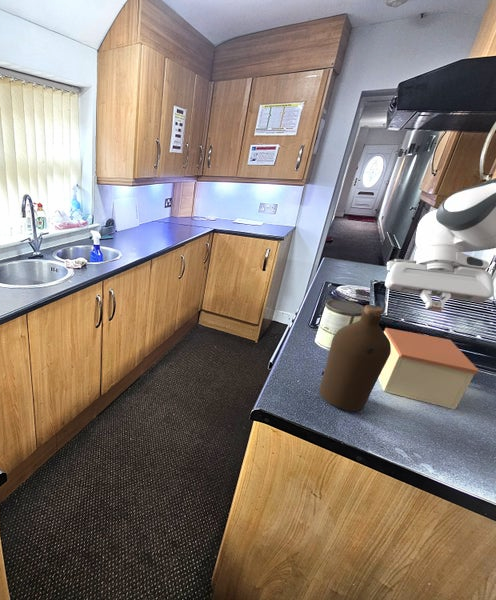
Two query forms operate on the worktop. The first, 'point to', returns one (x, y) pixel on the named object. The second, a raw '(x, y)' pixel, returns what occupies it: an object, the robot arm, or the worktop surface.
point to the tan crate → (423, 380)
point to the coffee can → (336, 319)
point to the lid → (429, 350)
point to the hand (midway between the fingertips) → (434, 309)
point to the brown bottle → (355, 361)
